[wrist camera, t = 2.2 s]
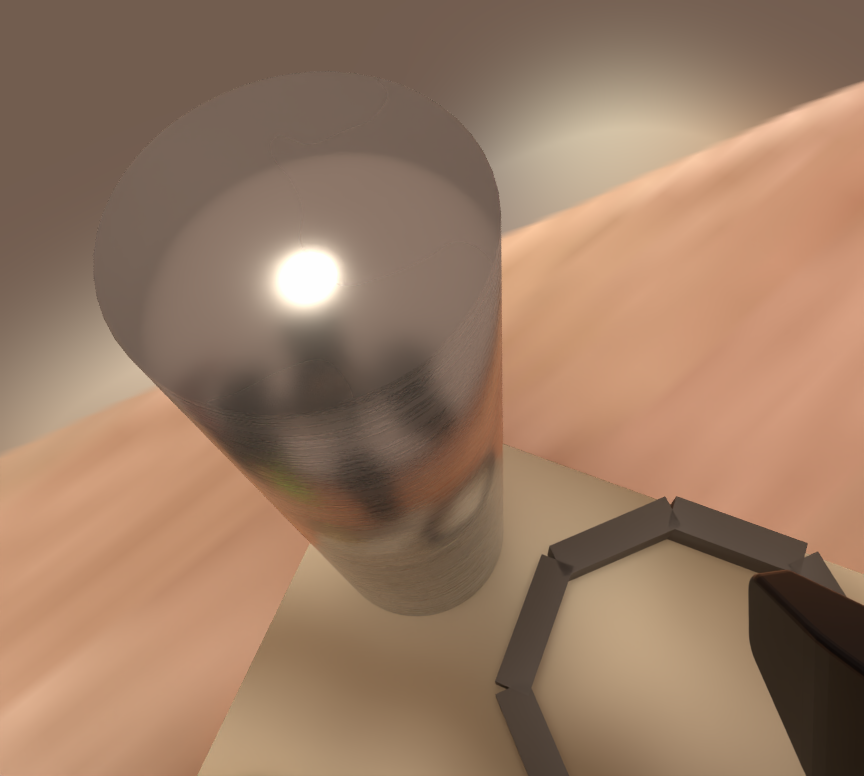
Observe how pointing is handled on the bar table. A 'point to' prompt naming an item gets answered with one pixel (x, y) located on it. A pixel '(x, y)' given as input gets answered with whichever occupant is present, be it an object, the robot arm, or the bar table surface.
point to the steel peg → (328, 318)
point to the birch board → (534, 652)
